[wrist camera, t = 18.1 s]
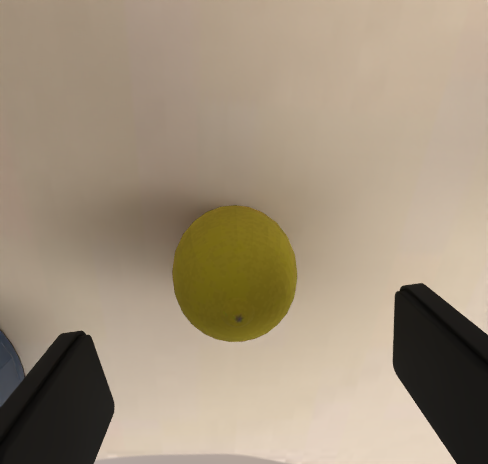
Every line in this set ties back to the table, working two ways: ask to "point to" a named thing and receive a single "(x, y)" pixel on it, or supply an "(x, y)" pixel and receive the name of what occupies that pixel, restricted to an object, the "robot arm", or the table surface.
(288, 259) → the lemon
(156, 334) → the table surface
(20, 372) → the pot
